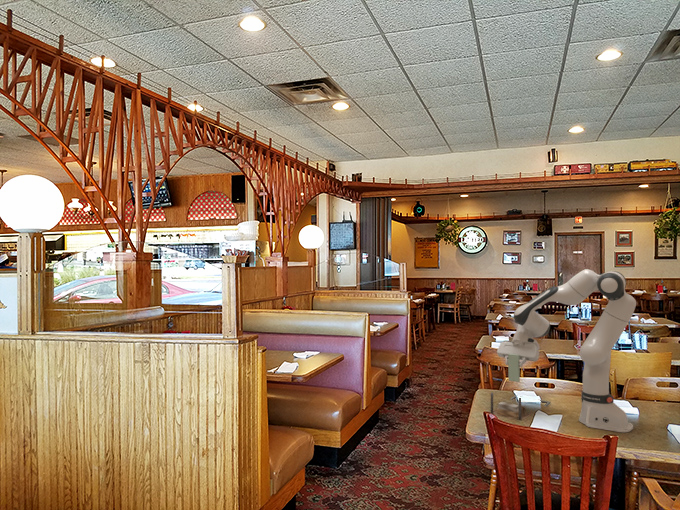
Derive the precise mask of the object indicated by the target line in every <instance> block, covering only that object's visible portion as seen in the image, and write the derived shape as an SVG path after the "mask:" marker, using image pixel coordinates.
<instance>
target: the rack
mask: <svg viewBox="0 0 680 510" xmlns="http://www.w3.org/2000/svg"><path fill="white" fill-rule="evenodd" d="M518 405H519V417H518V418H514V417H509V416H505V415H500V414H497V409H495V410H494V392H490V413H492V414H491V415H496V416H498V417H500V416H501V417H504V418H509V419H513V420H518V421H523V420H525V419H527V418H528V417H530V416H532V413H529V412H528V413H527V412H526V406H523V405H522V402H521V398H519V401H518Z"/></svg>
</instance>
